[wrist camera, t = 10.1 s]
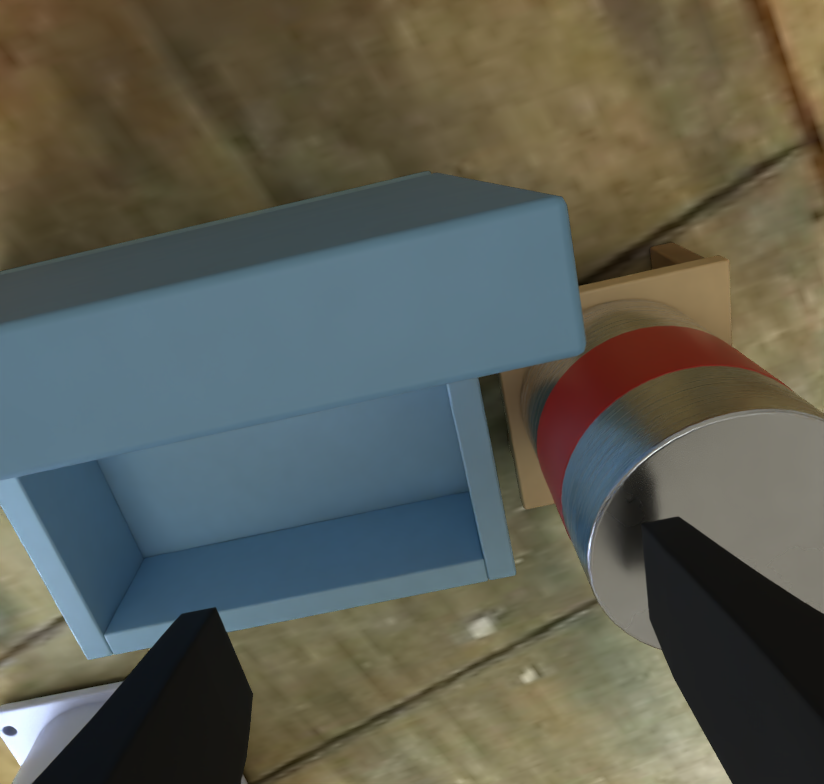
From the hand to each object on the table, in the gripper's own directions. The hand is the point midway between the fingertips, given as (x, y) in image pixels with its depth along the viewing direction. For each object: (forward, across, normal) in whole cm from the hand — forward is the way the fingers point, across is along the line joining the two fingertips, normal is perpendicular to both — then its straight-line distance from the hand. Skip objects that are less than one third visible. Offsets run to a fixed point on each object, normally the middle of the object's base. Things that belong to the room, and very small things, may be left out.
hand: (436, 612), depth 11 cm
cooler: (+10, +4, -1) cm, 11 cm away
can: (+7, -5, 0) cm, 9 cm away
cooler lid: (0, +5, -6) cm, 8 cm away
